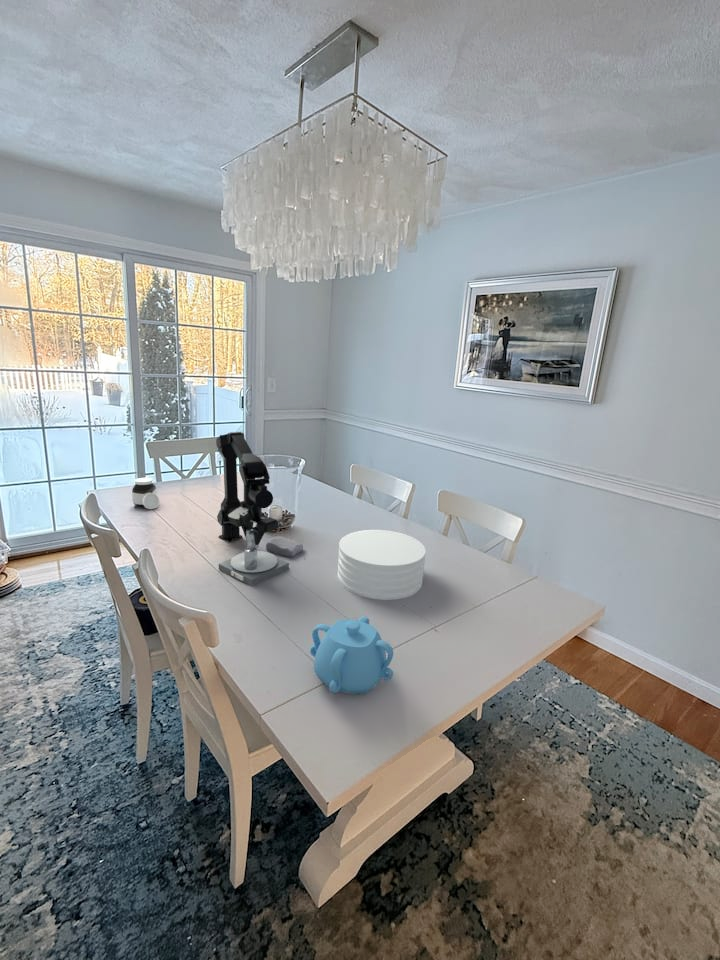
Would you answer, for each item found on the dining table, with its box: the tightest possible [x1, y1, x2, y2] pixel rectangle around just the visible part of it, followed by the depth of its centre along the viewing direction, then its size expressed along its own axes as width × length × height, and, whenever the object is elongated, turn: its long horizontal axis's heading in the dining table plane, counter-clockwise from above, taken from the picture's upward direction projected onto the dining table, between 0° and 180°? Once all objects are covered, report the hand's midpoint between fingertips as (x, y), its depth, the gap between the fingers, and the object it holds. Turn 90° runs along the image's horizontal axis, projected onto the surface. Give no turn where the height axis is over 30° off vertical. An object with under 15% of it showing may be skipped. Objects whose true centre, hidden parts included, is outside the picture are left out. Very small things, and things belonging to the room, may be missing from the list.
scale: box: [218, 548, 290, 586], centre depth 148 cm, size 16×17×3 cm
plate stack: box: [337, 529, 427, 601], centre depth 147 cm, size 28×28×12 cm
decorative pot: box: [309, 616, 394, 696], centre depth 100 cm, size 16×16×14 cm
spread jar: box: [131, 477, 160, 510], centre depth 197 cm, size 12×11×12 cm
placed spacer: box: [243, 547, 258, 570], centre depth 142 cm, size 4×4×6 cm
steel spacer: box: [245, 526, 260, 549], centre depth 149 cm, size 4×4×6 cm
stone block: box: [265, 535, 304, 558], centre depth 164 cm, size 12×5×10 cm
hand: (252, 542), depth 150 cm, fingers closed on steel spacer, 4 cm apart
